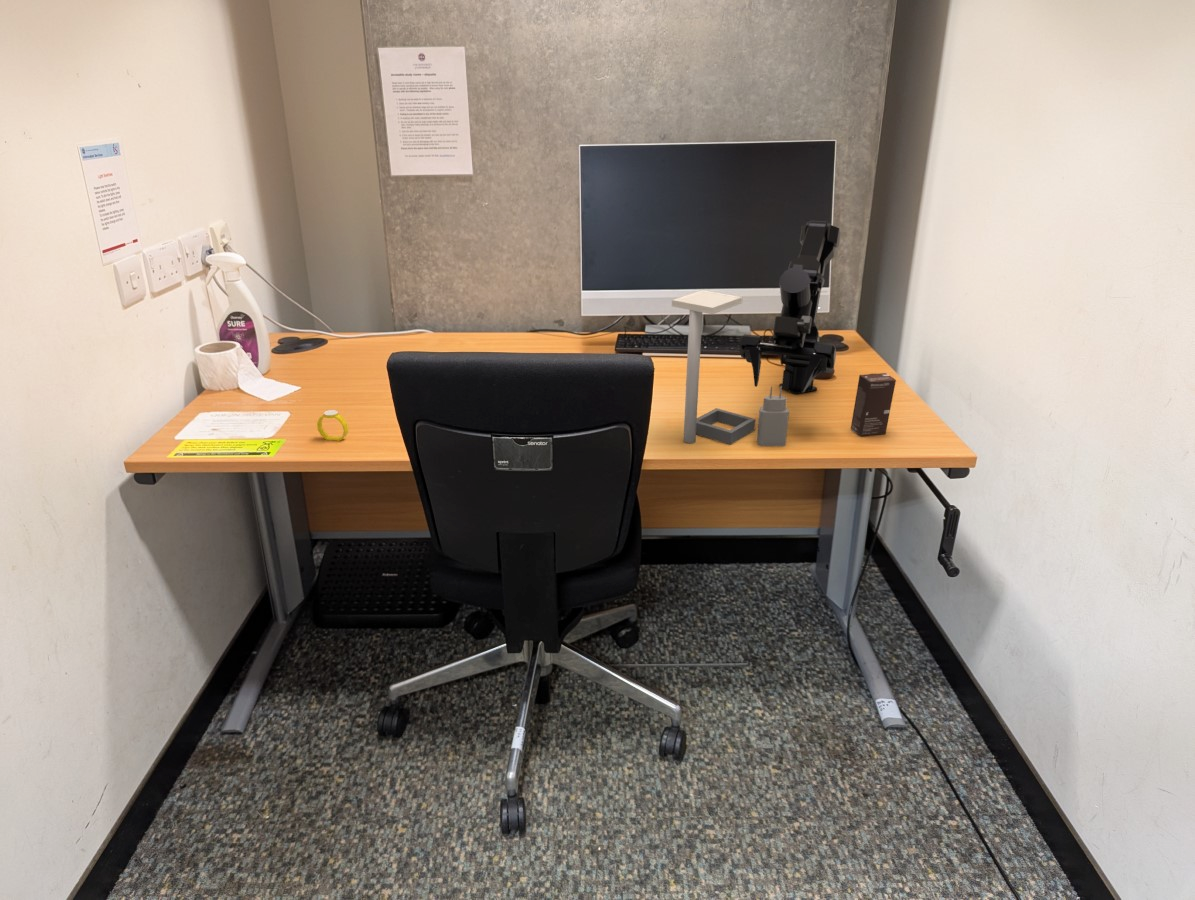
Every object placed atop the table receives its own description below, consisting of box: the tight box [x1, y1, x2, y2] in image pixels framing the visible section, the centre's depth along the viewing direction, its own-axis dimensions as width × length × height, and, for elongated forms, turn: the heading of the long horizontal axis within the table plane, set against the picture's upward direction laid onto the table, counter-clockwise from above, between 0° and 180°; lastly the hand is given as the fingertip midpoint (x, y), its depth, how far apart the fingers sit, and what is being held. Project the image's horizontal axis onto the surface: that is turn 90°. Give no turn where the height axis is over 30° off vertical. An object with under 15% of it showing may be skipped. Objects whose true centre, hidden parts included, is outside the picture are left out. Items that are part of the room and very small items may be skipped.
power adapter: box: [756, 385, 790, 447], centre depth 158 cm, size 3×5×12 cm, turn 90°
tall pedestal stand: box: [671, 289, 757, 446], centre depth 159 cm, size 15×12×28 cm
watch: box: [316, 409, 349, 442], centre depth 161 cm, size 6×3×6 cm, turn 80°
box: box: [850, 372, 897, 437], centre depth 163 cm, size 6×4×12 cm
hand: (778, 388), depth 159 cm, fingers open, 9 cm apart
